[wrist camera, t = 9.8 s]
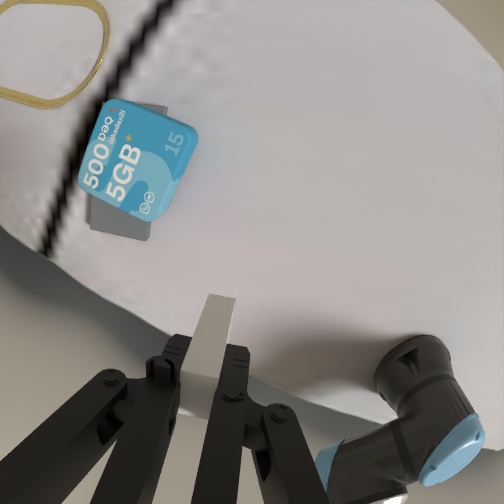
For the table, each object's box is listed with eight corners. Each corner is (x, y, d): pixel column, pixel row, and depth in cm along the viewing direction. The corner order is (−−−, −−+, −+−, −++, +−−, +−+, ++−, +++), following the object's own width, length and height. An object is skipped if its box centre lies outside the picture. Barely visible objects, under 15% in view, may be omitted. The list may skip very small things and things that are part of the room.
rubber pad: (149, 237, 42) (145, 241, 41) (94, 226, 42) (89, 229, 41) (167, 107, 36) (164, 106, 34) (107, 102, 35) (102, 102, 34)
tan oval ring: (83, 122, 37) (77, 122, 35) (-34, 85, 33) (-39, 85, 31) (135, 5, 30) (131, 1, 29) (0, -2, 26) (-5, -4, 25)
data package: (153, 226, 35) (74, 186, 34) (164, 216, 40) (91, 180, 38) (195, 131, 31) (106, 94, 30) (203, 131, 36) (122, 97, 34)
